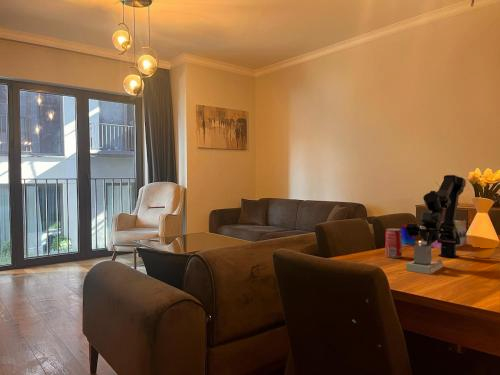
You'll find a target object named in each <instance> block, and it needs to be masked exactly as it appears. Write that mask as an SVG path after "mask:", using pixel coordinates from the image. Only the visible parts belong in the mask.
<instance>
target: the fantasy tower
mask: <svg viewBox="0 0 500 375" xmlns="http://www.w3.org/2000/svg"><path fill="white" fill-rule="evenodd" d="M406 224H407V223H405V224H403V225H402V226H401V228H400V229H401V230H400V231H401V233H402V247H404V248H412V247H413V248H414V245H416V244H417V243H416V237H417V236H410V235H408V233H407V230H406V228H405V227H406Z"/></svg>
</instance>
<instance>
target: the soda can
mask: <svg viewBox="0 0 500 375" xmlns="http://www.w3.org/2000/svg"><path fill="white" fill-rule="evenodd" d="M402 248H403V246H402V233H401V228H386V231H385V256H386V257H387V258H391V259H399V258H401V257H402V253H403V250H402Z"/></svg>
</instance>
